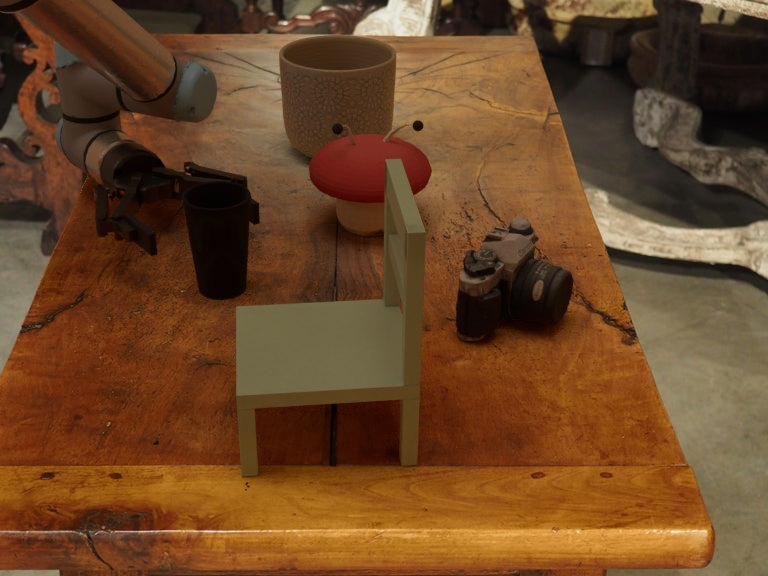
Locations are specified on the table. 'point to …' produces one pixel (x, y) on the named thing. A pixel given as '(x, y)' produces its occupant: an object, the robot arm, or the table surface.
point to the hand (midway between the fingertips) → (206, 229)
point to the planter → (336, 88)
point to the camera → (509, 283)
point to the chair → (342, 339)
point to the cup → (218, 236)
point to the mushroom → (365, 175)
